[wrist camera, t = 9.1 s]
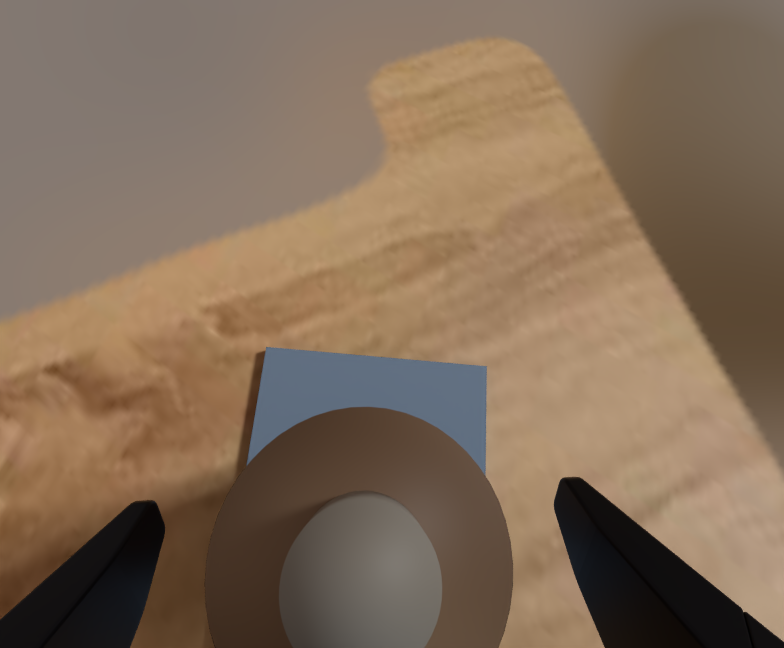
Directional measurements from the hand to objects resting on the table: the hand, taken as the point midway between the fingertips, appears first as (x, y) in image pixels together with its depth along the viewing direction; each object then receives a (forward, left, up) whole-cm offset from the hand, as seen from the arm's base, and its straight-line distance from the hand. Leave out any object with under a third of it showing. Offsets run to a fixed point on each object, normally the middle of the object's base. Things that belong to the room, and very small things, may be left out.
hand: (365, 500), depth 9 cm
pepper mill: (0, 0, -8) cm, 8 cm away
